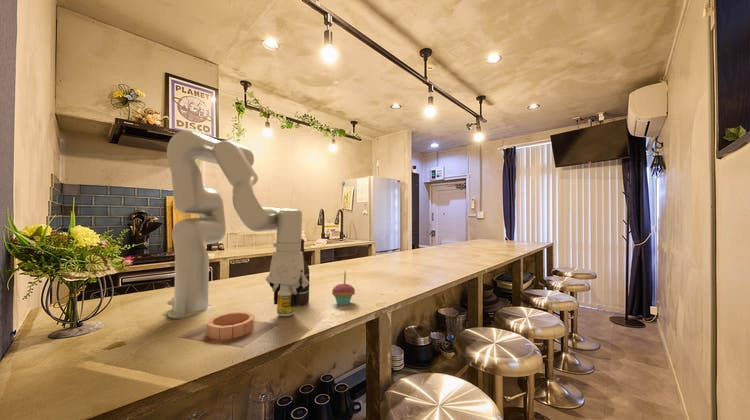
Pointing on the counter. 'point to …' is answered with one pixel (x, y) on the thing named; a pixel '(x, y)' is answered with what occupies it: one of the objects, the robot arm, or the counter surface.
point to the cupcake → (343, 292)
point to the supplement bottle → (285, 301)
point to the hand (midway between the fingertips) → (286, 303)
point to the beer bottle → (305, 292)
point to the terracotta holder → (220, 331)
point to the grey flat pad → (239, 341)
